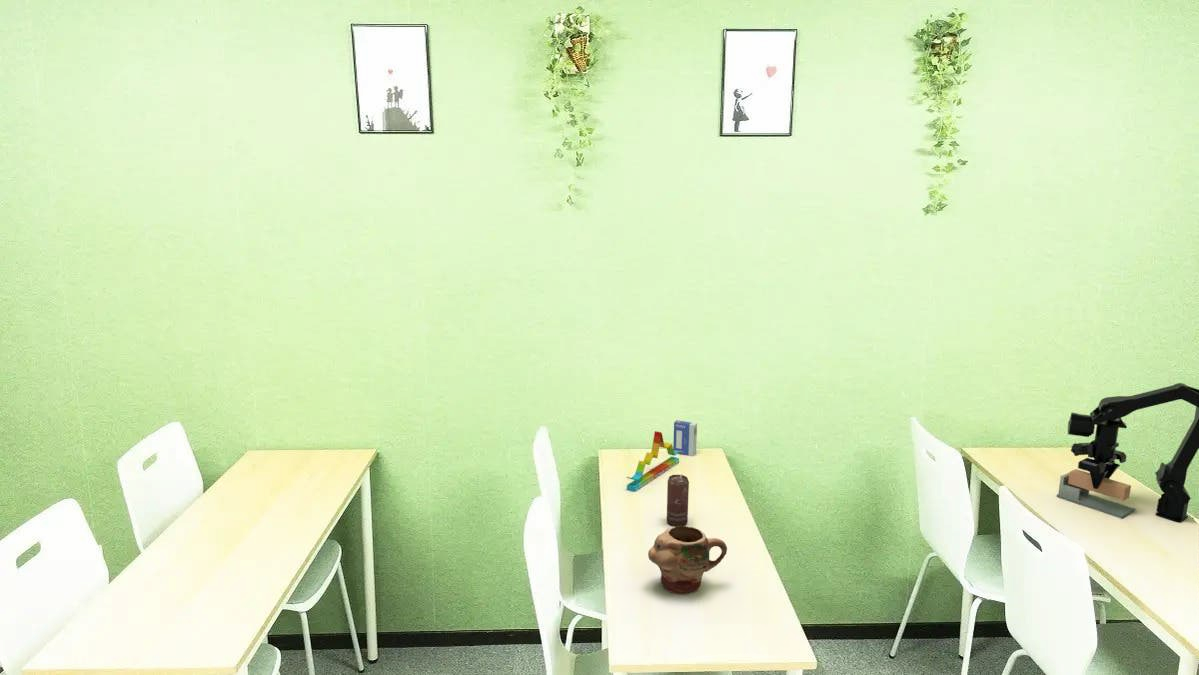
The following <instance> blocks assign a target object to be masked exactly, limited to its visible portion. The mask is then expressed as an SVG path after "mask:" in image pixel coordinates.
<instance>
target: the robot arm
mask: <svg viewBox="0 0 1199 675" xmlns="http://www.w3.org/2000/svg"><path fill="white" fill-rule="evenodd" d="M1179 400H1182V401H1185V402H1187V403H1189V404H1190V405H1193V406H1194V407H1195V412H1194V418H1193V421H1192V423H1191V425H1190V426H1189V428H1188V430H1187V432H1186V434H1185V435H1184V436H1183V439H1182V440H1181V443H1180V445H1179V447H1178V448H1177V450H1176V452H1175V454H1174V455H1173V457H1172V459H1171V460H1170V461H1169V462H1168V463H1164V462H1161V463H1160V466H1159V468H1158V469H1157V471H1155V476H1156V477H1155V479H1156V483H1157V485H1158V487H1159V488H1160V490H1161V492H1162V494H1161V495H1160V497H1159V498H1158V501H1157V504H1156V505H1157V507H1156V512H1155V515H1156V516H1158V517H1161V518H1163V519H1167V520H1170V521H1174V522H1177V523H1182V522H1184V521H1185V520H1186V519H1188V518H1189V515H1187V512H1188V507H1189V502H1190V500H1191V496H1190V494H1189V492H1188V491H1187V489H1186V488H1185V484H1186V483H1185V482H1186V480H1187V479H1186V478H1187V471H1188V468H1189V466H1190V465H1191V463H1192V461H1193V459H1194V457H1195V455H1196V454H1197V453H1198V450H1199V389H1198V388H1194V387H1192V386H1189V385H1187V384H1185V383H1183V382H1177V383H1175V384H1173V385H1169V386H1165V387H1161V388H1158V389H1157V388H1156V389H1154V390H1149V391H1145V392H1141V393H1138V394H1133V395H1127V396H1126V395H1125V396H1124V395H1116V396H1108V397H1104V398H1102V399H1101V400H1100V401H1099V403H1098V406H1096V408H1094V410H1092V411H1091V412H1090V413H1089V414H1083V413H1082V414H1081V413H1076V412H1071V413H1070V416H1069V420H1068V423H1067V435H1070V436H1077V437H1086V438H1089V437H1090V436H1092V435H1094V439H1093V440H1091V441H1090V442H1078V443H1077V442H1074V443H1073V444H1072V445H1071V449H1070V452H1071V453H1072V454H1073V456H1074V457H1078V456H1086V455H1087V457H1086V458H1083V459H1082V460H1080V461H1078V465H1077V469H1078V470H1081V471H1084V472H1088V473H1090V475H1091V479H1092V484H1093V488H1095V489H1098V487H1099V486H1100V484H1101V482H1102V481H1103V479H1104V478H1108V479H1111V477H1112V476H1113V474H1114V473H1115V472H1116V471H1117V470H1118V468H1119V467H1120V466H1121V465H1120V464H1123V463H1125V462H1127V454H1126V453H1125V452H1124V451H1120V450H1117V449H1116V448H1118V447H1119V446H1120V443H1119V442H1117V440H1118V435H1119V428H1120V429H1127V427H1128V425H1127V424H1126V423H1125V422H1124V421H1123V419H1122V418H1124V417H1127V416H1128V415H1130V414H1132V413H1133V412H1135V411H1138V410H1142V409H1146V408H1150V407H1154V406H1159V405H1163V404H1167V403H1170V402H1175V401H1179ZM1095 425H1096V429H1095ZM1094 432H1095V434H1094ZM1115 460H1118V461H1119V463H1120V464H1119V463H1116V461H1115Z"/></svg>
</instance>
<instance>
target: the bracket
mask: <svg viewBox="0 0 1199 675" xmlns="http://www.w3.org/2000/svg"><path fill="white" fill-rule="evenodd" d="M1069 473H1070V471H1069V472H1068V473H1065V474H1063V475H1060V478H1059V485H1058V486H1059V487H1058V492H1057V494H1060V495H1063V496H1066V497H1069V498H1072V499H1075V500H1079V499H1080V493H1081V494H1084V495H1087V496H1088V495H1089V494H1090V490H1087V489H1084V488H1081V487H1077V486H1074V485H1071V484H1068V480H1069Z"/></svg>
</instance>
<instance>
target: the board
mask: <svg viewBox="0 0 1199 675" xmlns="http://www.w3.org/2000/svg"><path fill="white" fill-rule="evenodd" d="M1056 498H1059V499H1061V500H1064V501H1067V502H1069V503H1074V504H1077V505H1080V506H1082V507H1086V508H1089V509H1092V510H1094V511H1098V512H1101V513H1103V514H1106V515H1110V516H1113V517H1116V518H1119V519H1124V518H1126V517H1127V516H1129V515H1131V514H1133V513H1135V512H1136V508H1135V507H1131V506H1128V505H1124V504H1122V503H1118V502H1115V501H1113V500H1109V499H1106V498H1102V497H1099V496H1096V495H1093V494H1090V493H1089V495H1088V496H1087V495H1084V494H1081V493H1080V499H1079V500H1075V499H1072V498H1069V497H1066V496H1063V495H1060V494H1058V493H1057V494H1056Z"/></svg>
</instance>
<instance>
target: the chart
mask: <svg viewBox="0 0 1199 675" xmlns="http://www.w3.org/2000/svg"><path fill="white" fill-rule="evenodd" d="M652 439H653V441H652V445H651V446H652V447H651V450H650V452H646V454H645V455H644V458H643V460H638V464H637V465H636V466H637V467H636V469H635V472H634V475H632V476H631V477H629V476H626V478H627V479H629V480H632V481H630V482H629V483H628V484H626V491H629V492H633V493H636V492H637V491H639V490H640V489H641V488H643V487H644V486H646V485H647V484H649V483H650V482H652V481H653V480H654V481H655V479H657V478H658V477H659V476H661V475H663V474H665V472H667V471H669V470H670V469H672V468H673V467H675V466H676V465H678V464H679V463H680V457H676V456H677V455H678V454H677V453H678V451H674V450H673V443H670V442H665V441H664V437H663V433H662V432H661V431H654V433H653V438H652ZM660 448H664V449H666V452H667V455H670V457H668V458H667V459H666V460H664V461H663V462H661V463H659V464H658V465H656V466H655V467H653V468H651V469H650V470H648V471H646V472H645V468H646V465H647V466H651V462H652V460H653V458H654V459H658V458H659V457H658V456H659V450H660ZM644 472H645V473H644Z"/></svg>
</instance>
